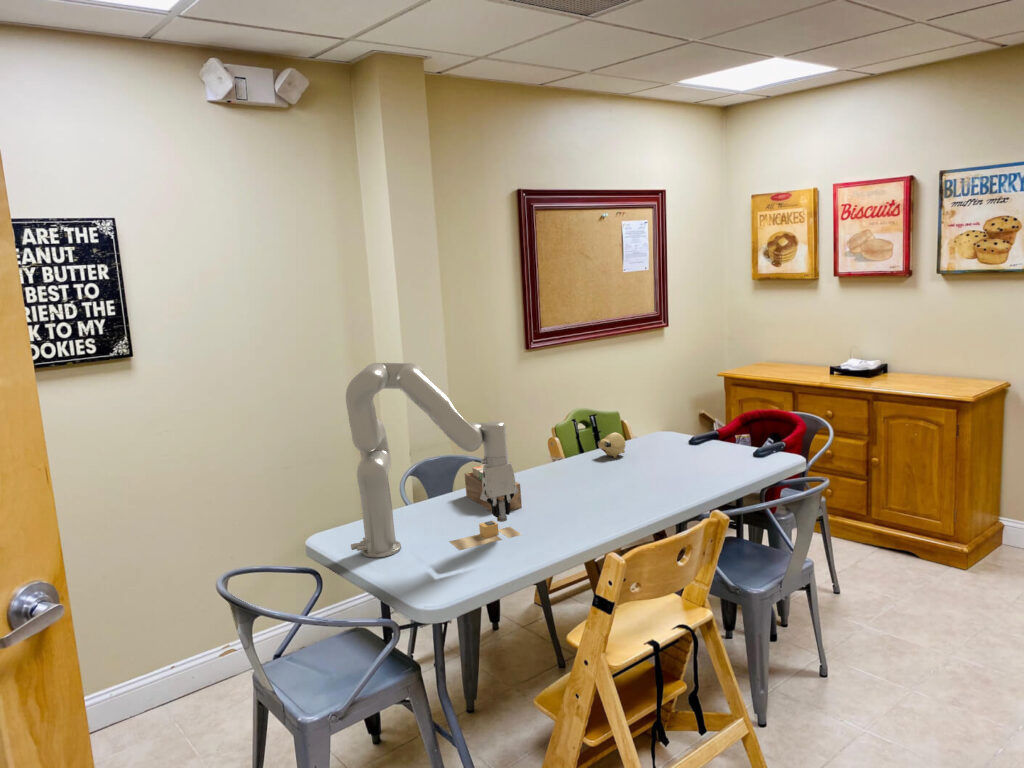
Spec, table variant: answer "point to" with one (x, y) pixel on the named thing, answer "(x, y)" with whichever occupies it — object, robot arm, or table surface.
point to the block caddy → (475, 491)
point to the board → (482, 539)
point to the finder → (488, 528)
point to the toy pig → (612, 444)
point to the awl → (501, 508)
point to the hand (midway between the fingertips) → (501, 514)
